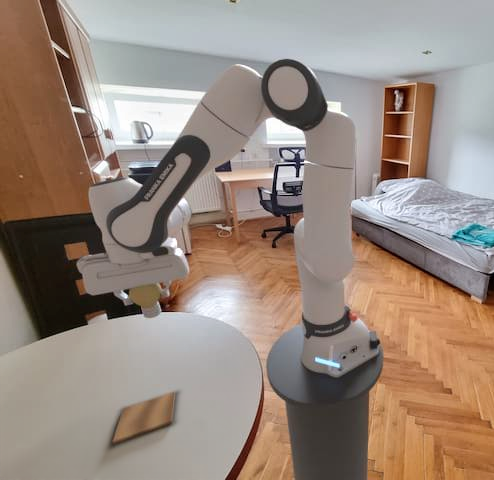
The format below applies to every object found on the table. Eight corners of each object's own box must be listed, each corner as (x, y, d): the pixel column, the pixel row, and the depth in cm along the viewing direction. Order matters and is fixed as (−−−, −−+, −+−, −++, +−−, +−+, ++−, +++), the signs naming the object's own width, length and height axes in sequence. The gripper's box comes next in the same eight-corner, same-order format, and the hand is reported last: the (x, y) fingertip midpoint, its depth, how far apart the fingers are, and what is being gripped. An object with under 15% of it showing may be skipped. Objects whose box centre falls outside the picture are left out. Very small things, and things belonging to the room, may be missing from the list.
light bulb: (132, 324, 69) (119, 289, 66) (145, 309, 75) (133, 276, 72) (162, 321, 71) (151, 285, 67) (171, 306, 77) (162, 273, 73)
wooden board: (175, 393, 68) (175, 391, 67) (171, 422, 61) (171, 420, 61) (123, 410, 64) (122, 408, 63) (113, 443, 57) (112, 441, 57)
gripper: (67, 263, 59) (90, 318, 64) (180, 246, 68) (193, 296, 73) (79, 252, 65) (100, 303, 70) (182, 237, 73) (194, 284, 78)
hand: (148, 299), depth 71 cm, fingers closed on light bulb, 6 cm apart
